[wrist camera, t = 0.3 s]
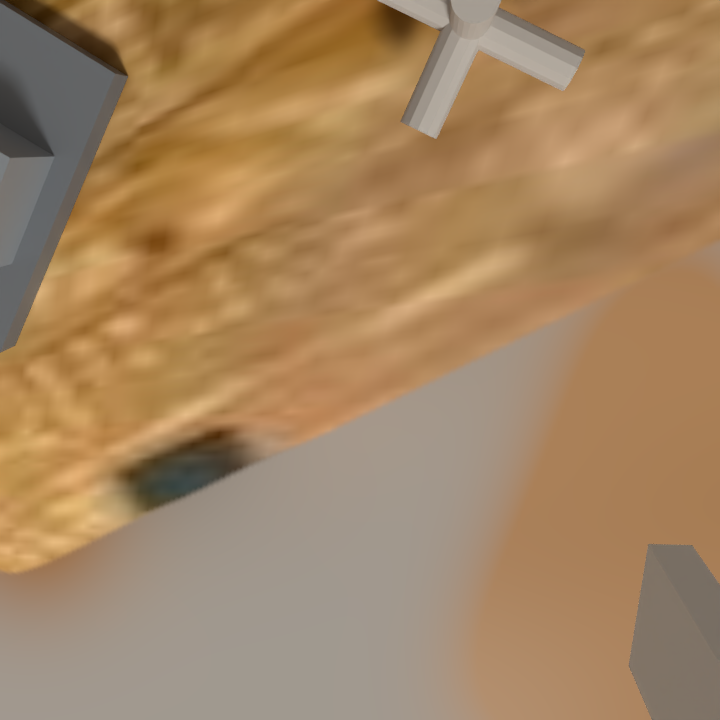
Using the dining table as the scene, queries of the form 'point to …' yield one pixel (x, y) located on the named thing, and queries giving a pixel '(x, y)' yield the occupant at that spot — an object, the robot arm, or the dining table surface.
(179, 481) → the dining table surface
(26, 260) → the rectangular socket base
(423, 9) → the pipe connector
